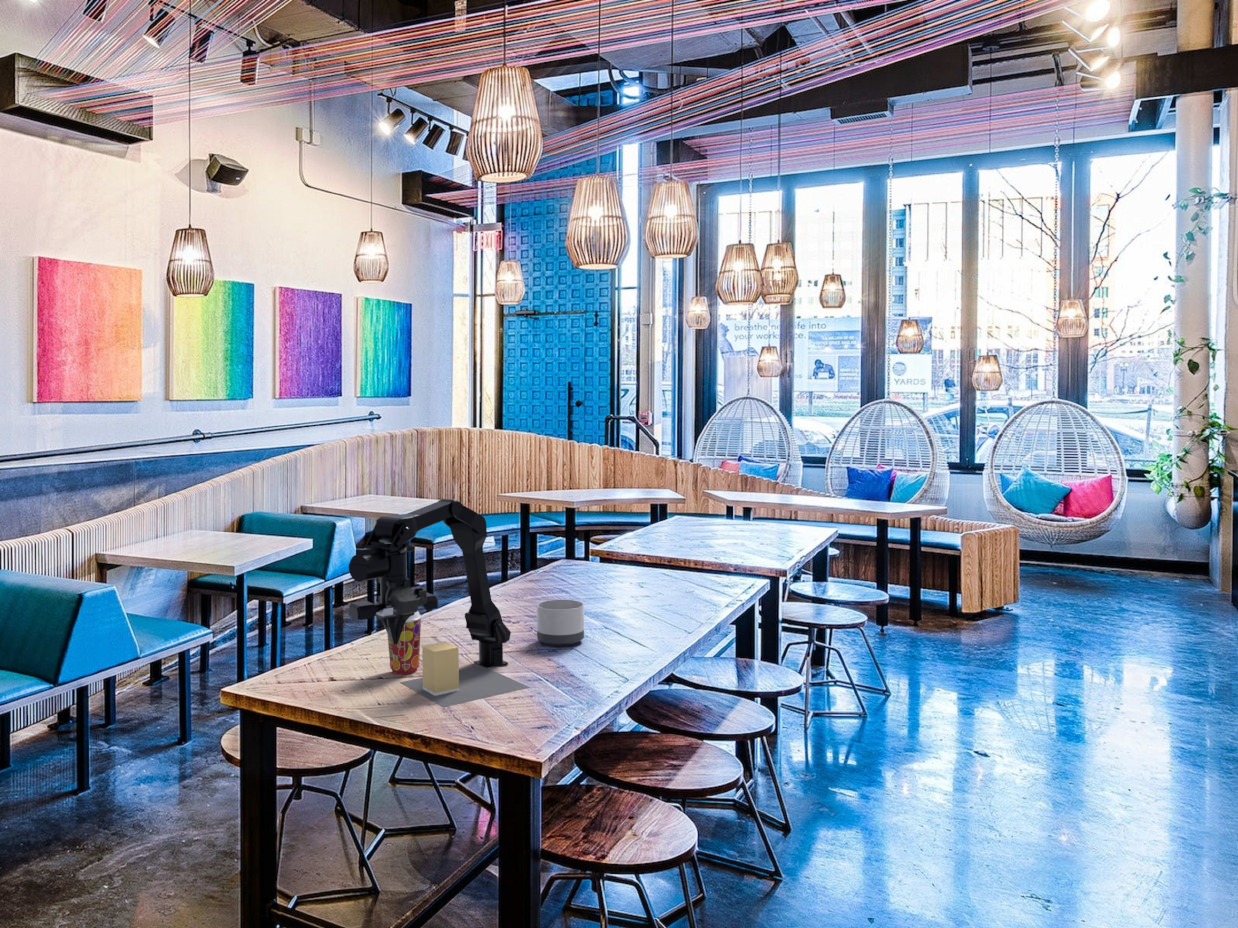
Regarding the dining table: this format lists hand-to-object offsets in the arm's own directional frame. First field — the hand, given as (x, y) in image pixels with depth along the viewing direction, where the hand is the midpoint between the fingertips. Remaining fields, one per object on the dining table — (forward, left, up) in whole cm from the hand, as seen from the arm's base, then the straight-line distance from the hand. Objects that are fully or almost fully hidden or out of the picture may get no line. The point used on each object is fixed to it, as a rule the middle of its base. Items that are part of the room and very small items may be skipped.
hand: (394, 644), depth 204 cm
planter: (-19, +57, -13) cm, 62 cm away
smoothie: (-19, +11, -13) cm, 26 cm away
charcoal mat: (0, +17, -13) cm, 21 cm away
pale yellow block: (0, +11, -12) cm, 17 cm away
